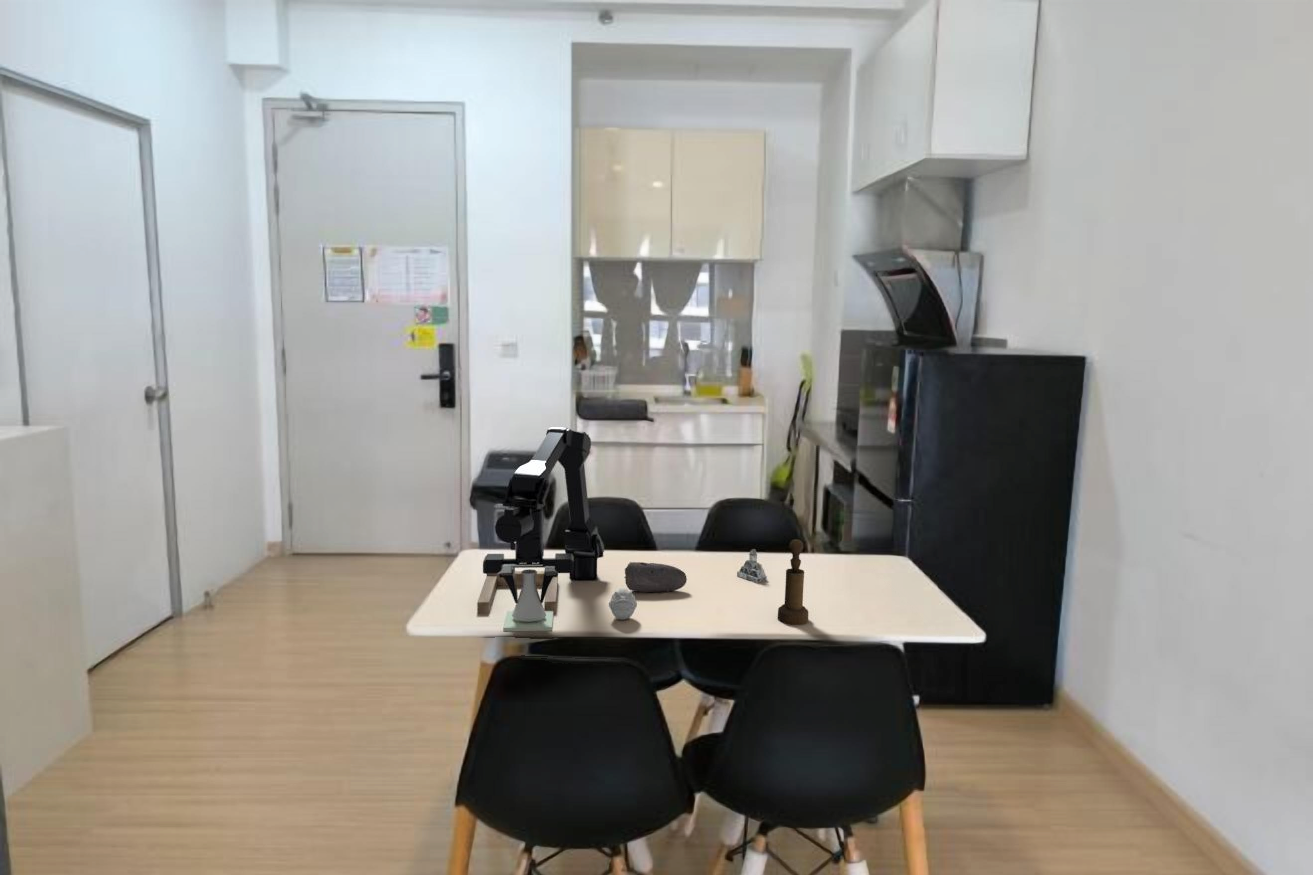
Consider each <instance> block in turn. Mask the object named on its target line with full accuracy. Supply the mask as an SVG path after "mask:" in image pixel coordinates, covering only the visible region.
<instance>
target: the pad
mask: <svg viewBox="0 0 1313 875" xmlns="http://www.w3.org/2000/svg"><path fill="white" fill-rule="evenodd" d="M513 611H514V610H508V611H506V615H505V619H504V623H503V626H502V631H503V632H510V631H511V632H518V631H519V632H532V631H533V632H536V631H542V632H543V631H544V632H545V631H553V623H554V622H553V621H554V613H553V611H545V613H546V616H545V617H544V618H543V619H542V620H538V621H530V622H526V621H517V620H515V619H514V618H513V617H512V614H513Z"/></svg>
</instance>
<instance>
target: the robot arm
mask: <svg viewBox="0 0 1313 875" xmlns="http://www.w3.org/2000/svg"><path fill="white" fill-rule="evenodd" d="M591 446H592V439H591V437H590V436H589V434H588V433H587V432H585V431H575V430H572V429H571V428H568V427H558V426H557V427H556V426H552V427H550V428H547V430H546V434H545V438H544V439H543V440H542V442H541V444H540V445H539V447H538V449H537V450H536V452H535V453H534V455H533V456H532V457H531V460H530V461H529V462H527V463H525V464H523V465H521V466H519V467H518V468H517V469H516V471H515V472H514V473H513V474H512V476H511V477H510V478H509V481H508V485H507V488H506V491H505V496H504V498H503V502H502V506H503V507H505V508H504V510H503V511H504V512H503V513H504V514H503V515H501V516H500V517H499V518H498V519H497V520H496V522H495V526H494V529H495V530H494V531H495V534H496V536H497V537H498V539H499V540H500V541H502V542H504V543H507V544H510V546H509V547H510V548H509V549H510V550H511V551H514V552H515V557H514V558H505V554H504V553H487V554H486V555H485V556H484V559H483V561H482V573H483V574H485V575H487V574H498V573H499V572H500V573H499V577H501V578H504V579H505V581H506V583H507V585H508V586H507V587H508V588H509V590H510V593H511V595H512V599H513V601H514V603H515V604H516V603H517V601H518V598H519V595H518V587H517V585H516V577H515V571H516V568H518V569H522V568H525V569H527V568H531V569H532V568H534V569H535V568H543V569H544V570H543V571H544V577H543V584H542V586H541V591H540V600H541V603H542V604H543V603H544V601H545V594H546V592H547V589H548V586H549V584H550V582H551V580H552V578H553V577H558V578H559V574H569V579H570V580H571V581H572V582H577V581H578V582H582V581H583V582H585V581H586V582H589V581H590V582H591V581H595V582H596V581H598V559H599V558H600V559H601V558H604V552H605V545H604V543H603V540H602V538H601V535H600V534H599V531H598V525H597V524H596V523H595V521H594V520H593V519H592V517H590V510H589V509H590V508H589V499H588V490H587V482H586V480H587V479H586V478H587V477H586V471H585V470H586V469H585V463H586V461H587V459H588V457H589V456H590V454H591ZM557 463H559V465H561V466H562V468H563V469H564V479H565V485H566V495H567V496H566V497H567V503H568V504H567V505H568V514H569V523H568V525H567V527H566V529H565V531H564V533H563V536H564V537H563V545H564V546H563V547H564V551H565V553H562V552H561V553H559V552H558V553H555V555H554V558H553V557H552V558H550V557H549V558H546V557H545V558H544V556H545V555H544V553H545V552H544V551H545V546H544V545H545V544H544V508H543V507H544V506H545V505H546V501H547V500H546V499H547V498H548V494H549V492H550V487H551V484H550V479H549V478H550V477H549V476H550V475H551V473H552V471H553V470H554V469H555V468H554V467H555V466H556V464H557Z"/></svg>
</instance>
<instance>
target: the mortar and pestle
mask: <svg viewBox="0 0 1313 875" xmlns="http://www.w3.org/2000/svg"><path fill="white" fill-rule="evenodd" d="M788 547H789V548H788V549H789V550H790V553H791V556H792V558H791V559H790V560H789V561H790V566H791V568H787V569H786V570H785V586H784V587H785V589H784V604H782V605H781V606H780V607H778V609H777V620H778V621H779V622H781V623H783V624H786V625H793V626H795V625H796V626H798V625H799V626H800V625H805V624H807V623H808V622H809V610H808V608H806V607H805V606H804V604H803V601H804V585H805V584H804V583H805V582H804V580H805V570H804V569H800V567H801V564H802V559H800V556H801V553H802V551H803V549H804V543H803V542H802V541H801V540H800V539H792V540H791V541H789V545H788Z"/></svg>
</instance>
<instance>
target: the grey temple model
mask: <svg viewBox="0 0 1313 875" xmlns="http://www.w3.org/2000/svg"><path fill="white" fill-rule="evenodd" d="M748 556H749V558H748V560H746V561H745V562H744V564H743V565H742V566H740V569H739V570H738V571H737V573H736V577H738V576H739V578H741V577H742V578H741V579H744V580H746V579H748V581H750V580H751V582H753V581H754V582H753V583H755V582H756V583H755V584H758V583H757V582H759V583H763V582H767V581H766V580H767V579H768V575H767V574H766V572H765V569H764V567H763V566H762V564H761V563H760V562H758V560H757V559H758V553H757V550H756V549H755V548H753V549H750V552H749V554H748Z"/></svg>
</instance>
